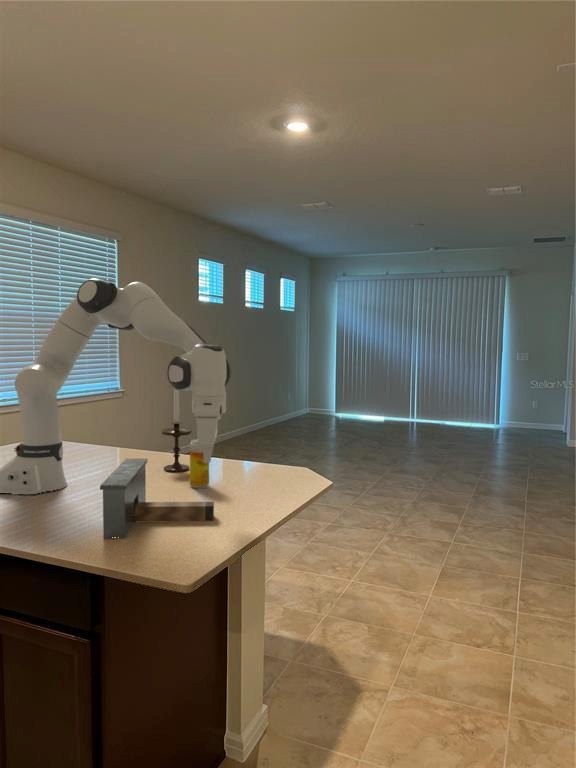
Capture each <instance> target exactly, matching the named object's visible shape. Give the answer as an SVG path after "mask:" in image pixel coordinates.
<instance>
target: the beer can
mask: <svg viewBox="0 0 576 768" xmlns="http://www.w3.org/2000/svg"><path fill="white" fill-rule="evenodd" d="M190 441H191V442H190V443H189V485H190V486H191V488H193V489H205V488H208V486H209V484H210V462H209V463H205V462H204V456H203V447H199V443H198V438H196V439H195V438H194V439H192V440H190Z"/></svg>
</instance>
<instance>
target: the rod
mask: <svg viewBox="0 0 576 768" xmlns="http://www.w3.org/2000/svg"><path fill="white" fill-rule="evenodd" d="M214 512H215V502H214V501H152V502H151V501H146V502H138V503H137V505H136V506H135V516H134V522H135V521H168V522H213V521H214V517H215V516H214V515H215V513H214Z"/></svg>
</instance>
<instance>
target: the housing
mask: <svg viewBox="0 0 576 768" xmlns="http://www.w3.org/2000/svg"><path fill="white" fill-rule="evenodd" d="M147 463H148V458H125V459H124V460H123V461H122V462H121V463H120V465H118V466H117V467H116V469H114V470H113V472H111V474H110V475H108V477H106V479H104V481H103V482H102V483H101V484H100V486H99V489H100V490H102V516H103V517H102V521H103V523H102V524H103V525H102V527H103V533H102V535H103V538H112V537H113V538H114V537H116V538H118V537H119V538H123V539H126V538H127V536H128V535H129V532H130V531H131V529H132V527H133V526H134V524H133V523H135V516H134V515H135V506H136V505H137V503H138V502H147V499H146V497H147V496H146V492H147V490H146V485H147V484H146V465H147ZM132 525H133V526H132ZM130 528H131V529H130ZM129 530H130V531H129ZM126 535H127V536H126ZM125 537H126V538H125ZM103 538H102V539H103Z"/></svg>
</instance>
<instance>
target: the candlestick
mask: <svg viewBox="0 0 576 768" xmlns="http://www.w3.org/2000/svg"><path fill="white" fill-rule="evenodd" d="M170 424H172V425H173V427H170V428H169V427H168V428H163V429H161V430H160V434H161V435H163V436H170V437H172V438H174V447H173V448H172V451H173V452H174V453H173V455H172V456H173V457H174V462H173V464H167V465H165V466H164V467H163V471H164V472H166V473H174V474H175V473H184V472H187V471H190V465H187V464H183V463H180V462H179V460H180V459H179V457H180V456H181V455H180V452H181V448H180V447H179V438H181V436H189V435H192V434H193V430H192V429H191V428H188V427H186V428H185V427H180V425H181V424H182V422H180V390H176V389H175V388H174V387H173V422H171V423H170Z"/></svg>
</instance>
